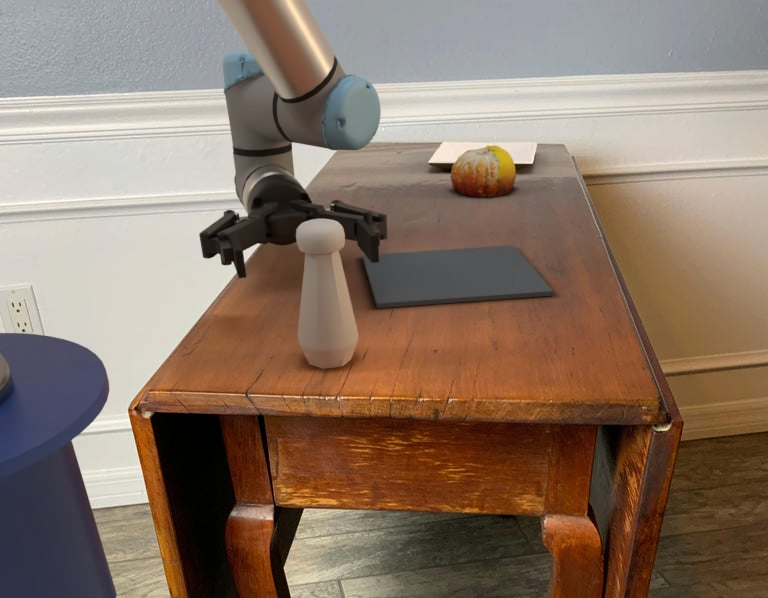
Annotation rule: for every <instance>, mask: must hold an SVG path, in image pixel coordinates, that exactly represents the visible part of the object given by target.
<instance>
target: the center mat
mask: <svg viewBox="0 0 768 598" xmlns="http://www.w3.org/2000/svg"><path fill="white" fill-rule="evenodd" d="M361 260H362V263H363V267H364V270H365V272H366V276H367V280H368V284H369V287H370V290H371V293H372V296H373V301H374V303H375V306H376V309H387V308H403V307H415V306H416V307H417V306H429V305H443V304H456V303H470V302H484V301H497V300H499V301H500V300H501V301H502V300H514V299H526V298H527V299H528V298H539V297H543V298H544V297H552V296H553V295H554V290H553V289H552V288H551V287H550V285H548V283H547V282H546V281H545V280H544V279H543V278H542V277H541V275H540V274H539V272H537V270H536V269H535V268H534V267H533V266H532V265H531V264H530V262H529V261H528V260H527V259H526V257H524V256H523V254H522V253H521V252H520V251H519V249H517V247H516V246H515V245H514V244H510V245H508V244H507V245H495V246H494V245H493V246H480V247H464V248H450V249H436V250H435V249H434V250H420V251H419V250H418V251H406V252H405V251H403V252H387V253H379V262H376V263H372V262H371V261H370V260H369V259H368V257H367V256H366V255H365V254H362V255H361Z"/></svg>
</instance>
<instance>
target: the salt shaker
mask: <svg viewBox="0 0 768 598" xmlns="http://www.w3.org/2000/svg"><path fill="white" fill-rule="evenodd" d="M296 240H297V242H296V245H297V248H298V250H299V252H302V253H304V266H303V275H302V285H301V286H302V287H301V297H300V304H299V305H300V306H299V314H298V315H299V316H298V325H297V326H298V327H297V336H296V337H297V340H298V344H299V348H300V350H301V351H302V353H303V355H304V357H305V359H306V361H307V363H308V364H309V365H310V366H313V367H317V368H319V369H323V370H325V369H326V370H327V369H334V368H342V367H344V366H345V365H346V364H347V363H349V362H350V361H351V360H352V358H353V356H354V353H355V351H356V348H357V345H358V342H359V335H360V334H359V331H358V330H359V329H358V327H357V322H356V318H355V314H354V310H353V304H352V301H351V295H350V292H349V287H348V284H347V279H346V276H345V271H344V268H343V267H344V266H343V263H342V258H341V254H340V251H341V250H342V249H343V248H344V247H345V244H346V239H345V233H344V229H343V227H342V225H341V224H340V223H339V222H337V221H335V220H331V219H312V220H309V221H306V222H303V223H301V224H300V225H299V227H298V228H297V230H296Z"/></svg>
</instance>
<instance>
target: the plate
mask: <svg viewBox="0 0 768 598" xmlns="http://www.w3.org/2000/svg"><path fill="white" fill-rule="evenodd" d="M487 146H499V147H500V148H502V149H504V150H506V151H507V152H508V153H509V154H510V156H511V157H512V159H513V162H514V165H515V171H519V170H523V169H525V168H528V167H532V165H533V164H534V160H535V156H536V151H537V146H538V143H537V142H535V141H524V142H523V141H496V142H495V141H443V142H442V143H440V145H439V146H438V148H437V149H436V150H435V152H434V153H433V154H432V156H431V157H430V159H429V160H428V162H427V164H428V165H429V166H431V167H435V168H439V169H442V170H445V171H452V166H453V165H454V163H455V162H456V161H457V159H458V157H459V156H461V155H462V154H464V153H465V152H466V151H467V150H473V149H479V148H484V147H487Z"/></svg>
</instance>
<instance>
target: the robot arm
mask: <svg viewBox="0 0 768 598" xmlns="http://www.w3.org/2000/svg"><path fill="white" fill-rule="evenodd" d="M215 1H216V3H217V4H218V6H219V7H220V9H221V11H222V12H223V13H224V15H225V16H226V18H227V20H228V21H229V22H230V24H231V25H232V27H233V28H234V30H235V32H236V33H237V35H238V36H239V38H240V39H241V41H242V42H243V44H244V46H245V47H246V49H244V50H236V51H232V52H231V51H230V52H229V53H226V55H225V56H224V57H223V60H222V70H223V71H222V73H223V83H224V88H223V94H224V96H225V101H226V110H227V116H228V121H229V127H230V136H231V143H232V155H233V164H234V168H235V169H234V171H235V174H234V177H233V181H234V187H235V194H236V196H237V198H238V199H239V202H240V204H241V205H242V206H243V208H244V210H245V212H246V214H247V216H240V213H239V212H236V211H235V210H234V209H227V210H225V211H223V216H221V217H220V218H219V219H217V220H215V221H214V222H213V223H212V224H210V225H209V226H207V227H206V228H205V229H203V230H202V231H200V232H199V234H198V235H199V240H200V248H201V253H202V258H204V259H208V260H209V259H212V258H214V257H215V256H217V255H219V257H220V265H222V266H230V265H232V263H233V266H234V268H235V272H236V273H237V277H238V279H246V278H247V271H246V263H245V257H244V251H246V250H248V249H249V248H252V247H254V246H255V245H257V244H259V245H267V244H273V245H276V246H288V245H293V244H295V243H297V240H296V230H297V228H298V227H299V225H300V224H301V223H303V222H306V221H309V220H312V219H331V220H335V221H337V222H339V223H340V224H341V225H342V227H343V229H344V233H345V240H347V241H354V242H357V245H356V246H357V247H358V248H359V249H360V251H361V252H362V253H363V255H366V256H367V257H368V259H369V260H370V261H371V262H372V263H376V262H379V254H380V251H379V250H380V249H379V248H380V246H381V241H384V240H387V239H388V216H387V214H386V213H382V212H378V211H375V210H371V209H367V208H363V207H358V206H355V205H352V204H348V203H345V202H344V201H343V200H341V199H333V200H331V201H330V204H329V207H328V208H326V207H324V206H323V204H316V203H313V201H312V199H311V197H310V195H309V193H308V191H306V189H305V188H304V187H303V185H302V184H301V183H300V182H299V180H298V179H297V178H296V177H295V167H294V157H293V143H294V144H299V145H306V146H312V147H316V148H321V149H327V150H330V151H340V150H341V151H359V150H361V149H363V148H365V147H367V146H368V145H369V144H370V143H371V141H372V140H373V139H374V137H375V136H376V134H377V131H378V129H379V126H380V122H381V102H380V97H379V94H378V91H377V89H376V88H375V86H374V85H373V84H372V83H371V82H370V81H368V80H367V79H365V78H364V77H361V76H357V75H355V74H346V73H345V70H344V69H343V67H342V65H341V64H340V62H339V60H338V58H337V57H336V55H335V53H334V51H333V50H332V47H331V46H330V44H329V42H328V39H327V38H326V36H325V35H324V33H323V31H322V28H321V27H320V25H319V24H318V22H317V20H316V18H315V17H314V14H313V12H312V10H311V9H310V7H309V5H308V4H307V2H306V0H215ZM0 348H1V347H0ZM13 388H14V382H13V378H12V375H11V372H10V369H9V366H8V363H7V361H6V359H5V358H4V357H3V356H2V354H1V353H0V405H1V404H3V403H4V402H5V401H6V400H7V399H8V397H9V396H10V395H11V393H12V391H13Z"/></svg>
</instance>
